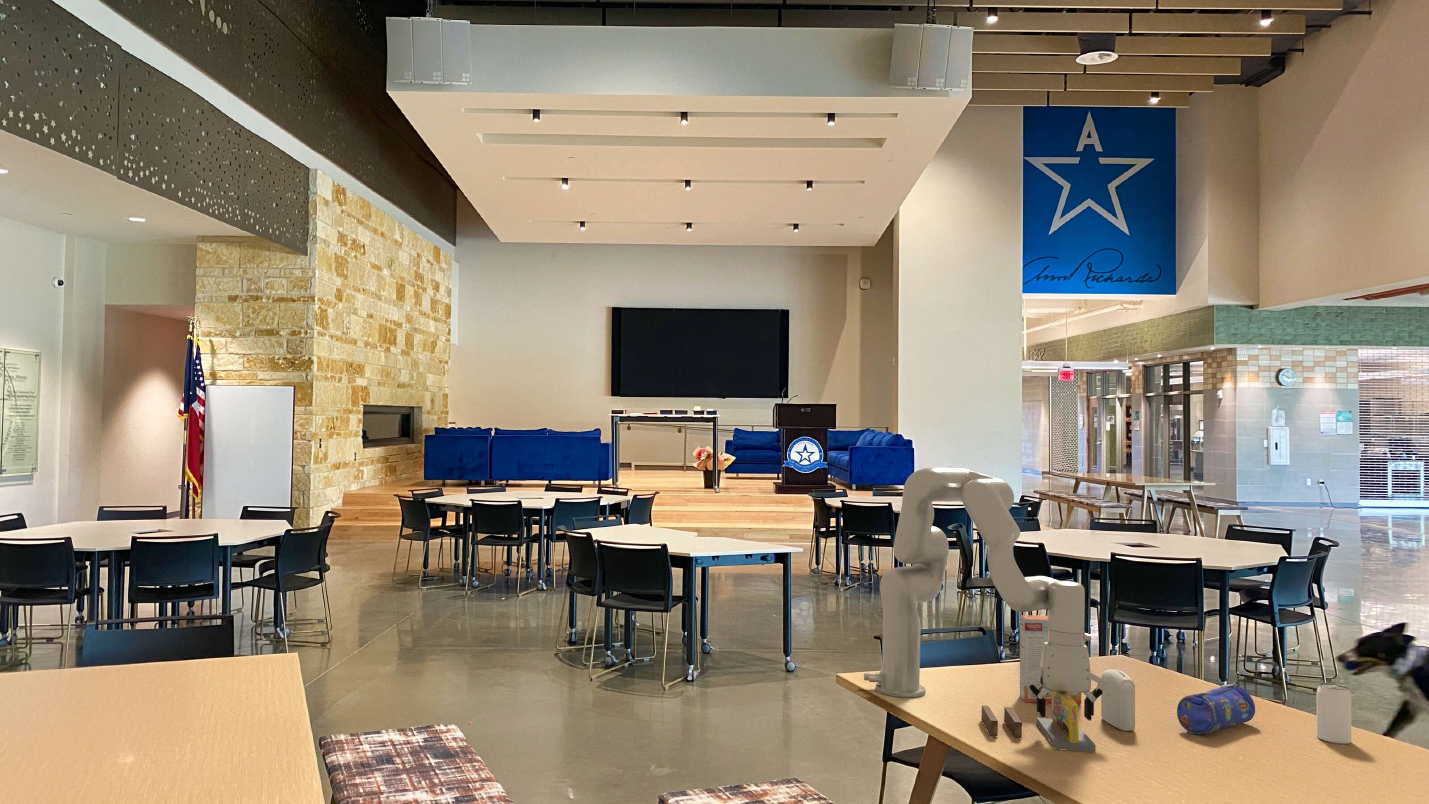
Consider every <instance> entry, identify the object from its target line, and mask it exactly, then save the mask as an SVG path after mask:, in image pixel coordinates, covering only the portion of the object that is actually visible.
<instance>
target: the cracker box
mask: <svg viewBox="0 0 1429 804" xmlns="http://www.w3.org/2000/svg"><path fill="white" fill-rule="evenodd" d="M1044 642H1048V615H1027V614H1026V615H1025V614H1021V615H1019V697H1020V698H1021V699H1022V701H1023V702H1025V703H1037V696H1036V695H1035V694H1034V693H1033V692H1032V691H1031V690H1030V688H1029V687H1028V685H1027V683H1026V681H1025V679H1024V676H1025V675H1027V674H1030V673H1032V672H1034V671H1036V670H1039V669H1040V662H1041V654H1042V648H1043V644H1044ZM1033 683H1034V685H1035V687H1036V688H1037V689H1038V688H1039V687H1040V686H1041V685H1042V684H1041V683H1040V679H1039V678H1036V679H1034V680H1033ZM1066 693H1067V694H1068V695H1069V696H1070V697H1071V698H1072V699H1073V700H1074V701H1075V702H1076V703H1077V704H1079V705H1082V693H1077V692H1066ZM1044 699H1045V700H1046V702H1047V703H1046V704H1052V698H1051V691H1049V692H1048V693H1047V694H1046V695H1045V696H1044ZM1079 705H1078V706H1079Z"/></svg>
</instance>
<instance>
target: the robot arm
mask: <svg viewBox="0 0 1429 804" xmlns="http://www.w3.org/2000/svg"><path fill="white" fill-rule="evenodd" d="M934 502H947V503H948V502H950V503H951V502H959V503H960V502H961V503H962V505H963V507H964V508H965V510H966V511H967V513H968V516H969V517H970V519H971V521H972V522H973V524H974V526H975V527H976V529H977V532H978V533H979V534H980V537H981V538H982V540H983V541H984V544H985V546H986V548H987V549H986V550H987V553H986V559H987V566H988V567H987V568H988V572H989V576H990V579H991V581H992V583H993V585H994V587H995V588H996V590H997V592H998V593H999V595H1000V597H1001V598H1002V600H1003V602H1005V603H1004V604H1006V605H1007V606H1008V607H1009V608H1010V609H1011V610H1013V611H1015V612H1018V613H1026V612H1027V613H1028V612H1035V611H1043V610H1047V616H1048V642H1044V644H1043V648H1042V654H1041V662H1040V669H1039V670H1036V671H1034V672H1032V673H1030V674H1027V675H1025V676H1024V679H1025V681H1026V683H1027V685H1028V687H1029V688H1030V690H1031V691H1032V692H1033V693H1034V694H1035V695H1036V696H1037V702H1036V712H1037V713H1038V715H1039V716H1040V718H1046V716H1047V715H1046V705H1047V703H1046V700H1045V699H1044V696H1045V695H1046V694H1047V693H1048V692H1049V691H1060V692H1077V693H1081V694H1082V693H1083V694H1084V695H1085V698H1084V699H1083V700H1084V703H1083V706H1084V707H1083V709H1084V710H1083V711H1084V712H1083V716H1084V718H1085V719H1086V720H1087V721H1091V722H1092V717H1094V715H1095V702H1097V700H1098V698H1100V696H1101V695H1102V693H1103V690H1104V689H1105V687H1106V685H1107V682H1106V681H1105V680H1103V679H1102V677H1099V676H1098V675H1097V674H1095V673H1093V672H1092V671H1091V662H1090V655H1089V649H1088V646H1087V645H1086V642H1088V641H1090V642H1091V640H1092V635H1091V634H1089V633H1086V632H1085V612H1086V611H1085V607H1086V606H1085V605H1086V603H1085V598H1086V597H1085V596H1086V595H1085V593H1086V592H1085V587H1084V586H1083V584H1081V583H1079V582H1075V581H1070V580H1058V579H1054V578H1053V577H1048V576H1046V575H1045V576H1044V575H1035V576H1024V575H1023V572H1022V571H1021V570H1020V568H1019V566H1018V564H1017V562H1016V559H1015V556H1014V545H1015V543H1016V542H1017V540H1018V539H1019V538H1020V536H1021V530H1020V527H1019V526H1018V524H1017V523H1016V521H1015V520H1014V519H1015V518H1013V516H1012V514H1011V513H1010V511H1009V510H1010V509H1011V508H1012V507H1013V505H1014V502H1015V495H1014V490H1013V489H1012V487H1011V486H1010V485H1009V483H1008V482H1006V481H1005V480H1003V479H1000V478H998V477H994V476H991V475H987V474H983V473H981V472H977V471H974V470H970V469H967V468H961V467H959V468H958V467H927V468H920V469H918V470H916V471H914V472H913V473H911V474H910V475H909V476H908V477H907V479H906V481H905V483H904V486H903V491H902V499H901V507H900V512H899V515H898V522H897V527H896V531H895V537H894V543H893V549H892V550H893V555H894V557H895V559H896V560H897V561H899V562H900V563H903V564H907V565H911V566H897V567H894V568H891V569H888V570H887V571H886V572H885V573H883V575H882V577H881V579H880V582H879V591H880V592H879V594H880V598H881V604H882V650H881V651H882V655H881V656H882V657H881V658H882V659H881V661H882V663H881V665H882V666H881V669H879V670H880V672H879V671H878V672H876V673H871V672H863V681H865V682H867V681H868V682H869V683H876V684H875V690H876V691H877V692H879V693H881V694H883V695H886V696H891V697H899V698H916V697H922V696H924V695H925V694H926V687H925V686H923V685H921V684H920V674H921V672H920V671H921V668H920V667H921V664H920V663H921V617H920V614H919V610H918V609H917V608H918V607H917V605H916V604H920V603H926V602H931V601H933V600H934V599H935V598H937V596H938V595H939V593H940V591H941V588H942V585H943V581H944V576H945V571H946V568H947V567H946V566H947V562H948V558H949V553H950V552H949V550H950V549H949V548H950V545H949V540H948V538H947V535H946V534H945V533H944V531H943V530H942V529H941V528H939V527H937V526H934V525H933V523H934V520H935V509H934V504H933V503H934ZM1036 678H1039V679H1040V683H1041V684H1042V685H1041V686H1040V687H1039V688H1038V689H1037V688H1036V687H1035V685H1034V683H1033V680H1034V679H1036ZM1092 681H1094V682H1095V683H1097V686H1096V688H1094V689H1093V690H1092V691H1091V689H1092V688H1091V687H1092Z"/></svg>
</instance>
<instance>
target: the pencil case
mask: <svg viewBox="0 0 1429 804" xmlns="http://www.w3.org/2000/svg"><path fill="white" fill-rule="evenodd" d="M1255 713H1256V705H1255V702H1254V699H1253V698H1252V696H1251V695H1250V693H1249V692H1247V690H1245V689H1244V688H1243V687H1242V686H1240V685H1239V684H1237V683H1236V682H1233V683H1232V684H1231V683H1229V684H1221V686H1220V687H1217V688H1213V689H1210V690H1208V691H1205V692H1200V693H1196V694H1190V695H1186V696H1184V697H1182V699H1180V700H1179V702H1178V704H1177V707H1176V716H1177V720H1178V722H1179V724H1180V726H1181V727H1182V728H1183V729H1185V730H1186V731H1187V732H1188V733H1191V734H1193V735H1206V734H1209V733H1211V732H1216V731H1220V730H1224V729H1226V728H1230V727H1233V726H1236V725H1238V724H1245V723H1247V722H1250V721H1251V720H1252V719H1253V718H1254V717H1255Z"/></svg>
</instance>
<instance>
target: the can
mask: <svg viewBox="0 0 1429 804" xmlns="http://www.w3.org/2000/svg"><path fill="white" fill-rule="evenodd" d="M1316 737H1317V738H1318V739H1319V740H1321V741H1323V742H1326V743H1331V744H1334V743H1335V745H1349V744H1350V743H1351V742H1352V693H1351V692H1350V687H1348V686H1346V685H1343V684H1339V683H1334V682H1320V683H1318V688H1317V689H1316ZM1348 743H1349V744H1348Z"/></svg>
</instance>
